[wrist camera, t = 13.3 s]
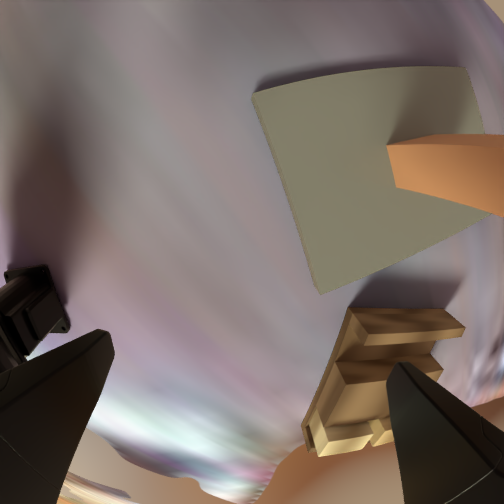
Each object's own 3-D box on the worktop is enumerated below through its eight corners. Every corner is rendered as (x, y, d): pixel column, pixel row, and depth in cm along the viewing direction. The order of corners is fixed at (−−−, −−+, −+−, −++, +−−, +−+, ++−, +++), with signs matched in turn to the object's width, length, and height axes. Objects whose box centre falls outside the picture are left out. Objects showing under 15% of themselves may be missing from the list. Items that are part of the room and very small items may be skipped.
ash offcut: (308, 424, 24) (318, 456, 20) (317, 408, 24) (328, 442, 19) (349, 419, 25) (361, 449, 21) (359, 403, 24) (373, 433, 20)
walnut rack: (300, 425, 26) (308, 452, 22) (348, 307, 21) (368, 334, 17) (386, 413, 27) (398, 435, 23) (443, 308, 22) (465, 327, 19)
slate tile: (314, 285, 20) (320, 294, 19) (251, 98, 16) (253, 93, 14) (484, 208, 19) (494, 212, 18) (455, 70, 15) (465, 67, 13)
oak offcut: (359, 418, 25) (372, 446, 21) (369, 402, 24) (385, 431, 20) (392, 412, 26) (406, 437, 22) (403, 395, 25) (419, 421, 21)
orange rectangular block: (395, 187, 17) (544, 233, 5) (386, 145, 16) (542, 153, 4) (442, 172, 16) (572, 203, 5) (434, 134, 15) (569, 142, 4)
